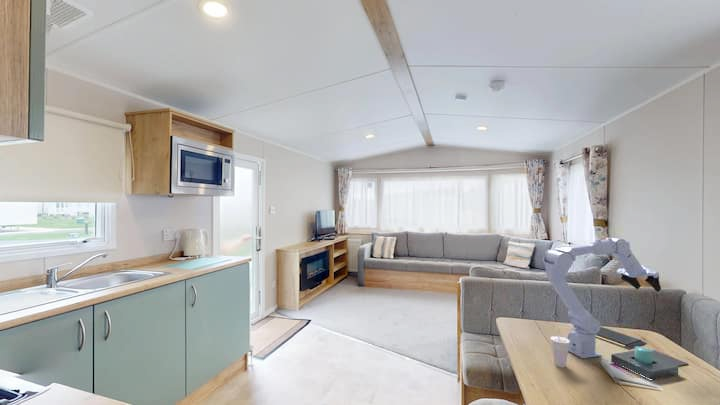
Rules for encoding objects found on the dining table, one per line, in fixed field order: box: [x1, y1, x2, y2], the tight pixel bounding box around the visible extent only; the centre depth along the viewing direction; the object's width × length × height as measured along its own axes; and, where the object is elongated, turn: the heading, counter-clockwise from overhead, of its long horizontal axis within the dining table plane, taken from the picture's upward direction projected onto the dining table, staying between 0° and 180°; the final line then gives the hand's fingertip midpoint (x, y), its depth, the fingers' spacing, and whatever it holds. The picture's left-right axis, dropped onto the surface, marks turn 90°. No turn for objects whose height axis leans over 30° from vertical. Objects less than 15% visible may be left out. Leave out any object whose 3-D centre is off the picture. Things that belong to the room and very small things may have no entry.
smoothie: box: [550, 326, 570, 368], centre depth 120 cm, size 6×6×14 cm
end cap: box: [634, 346, 653, 365], centre depth 118 cm, size 5×5×7 cm
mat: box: [652, 350, 689, 367], centre depth 124 cm, size 11×11×1 cm
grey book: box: [596, 326, 648, 351], centre depth 144 cm, size 20×2×15 cm
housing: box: [610, 349, 679, 381], centre depth 118 cm, size 14×13×3 cm
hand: (648, 288), depth 131 cm, fingers open, 7 cm apart
